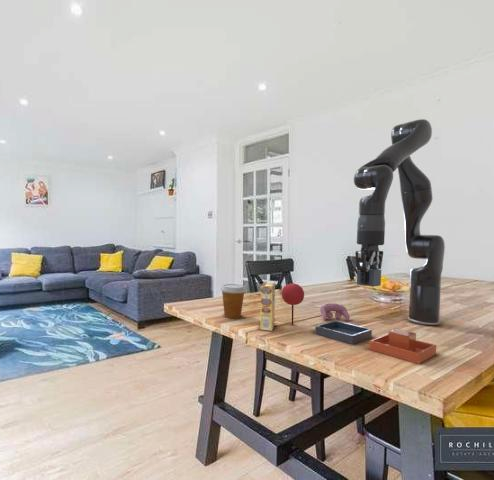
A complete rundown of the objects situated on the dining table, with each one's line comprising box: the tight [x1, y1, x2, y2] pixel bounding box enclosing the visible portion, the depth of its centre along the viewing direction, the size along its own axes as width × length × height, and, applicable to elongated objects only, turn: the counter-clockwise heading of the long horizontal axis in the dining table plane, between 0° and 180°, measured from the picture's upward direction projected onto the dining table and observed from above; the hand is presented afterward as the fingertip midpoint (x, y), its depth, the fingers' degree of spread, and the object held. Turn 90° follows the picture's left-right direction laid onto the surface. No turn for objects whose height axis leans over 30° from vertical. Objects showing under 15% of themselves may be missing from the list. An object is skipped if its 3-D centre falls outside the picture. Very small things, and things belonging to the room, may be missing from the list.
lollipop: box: [281, 283, 305, 326], centre depth 119 cm, size 8×8×15 cm
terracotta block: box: [388, 328, 417, 352], centre depth 94 cm, size 5×5×5 cm
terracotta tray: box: [368, 333, 437, 365], centre depth 94 cm, size 12×12×3 cm
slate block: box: [356, 269, 382, 288], centre depth 104 cm, size 5×5×5 cm
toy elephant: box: [319, 302, 350, 322], centre depth 128 cm, size 10×5×7 cm, turn 84°
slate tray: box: [314, 320, 373, 345], centre depth 108 cm, size 12×12×3 cm
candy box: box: [259, 281, 276, 332], centre depth 115 cm, size 9×4×15 cm, turn 159°
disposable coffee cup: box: [220, 283, 246, 319], centre depth 129 cm, size 10×10×12 cm
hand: (368, 283), depth 104 cm, fingers closed on slate block, 5 cm apart
